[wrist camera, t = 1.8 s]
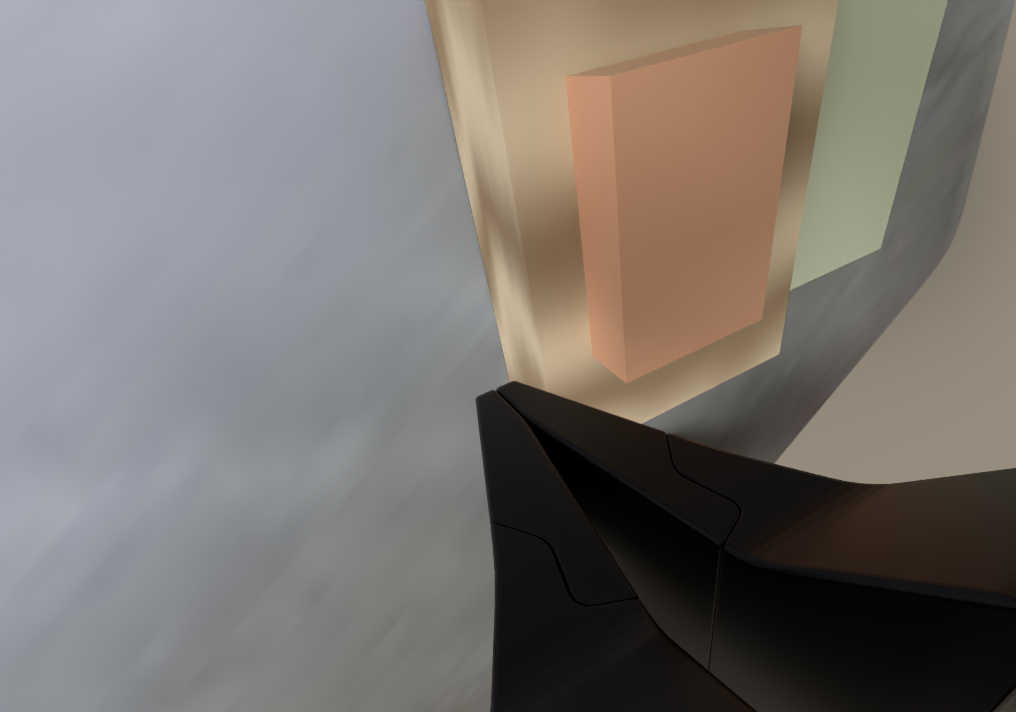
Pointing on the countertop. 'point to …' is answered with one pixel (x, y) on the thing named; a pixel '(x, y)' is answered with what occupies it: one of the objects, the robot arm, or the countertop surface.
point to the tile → (680, 192)
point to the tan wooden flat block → (552, 186)
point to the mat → (864, 128)
